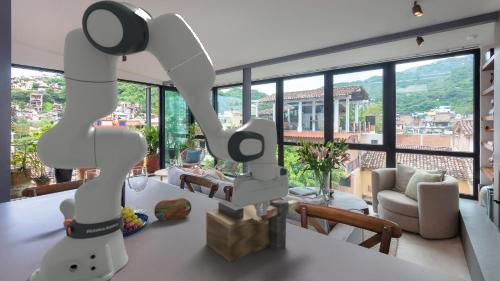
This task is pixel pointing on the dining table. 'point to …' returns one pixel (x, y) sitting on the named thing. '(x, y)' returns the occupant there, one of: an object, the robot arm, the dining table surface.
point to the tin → (172, 209)
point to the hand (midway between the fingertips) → (261, 215)
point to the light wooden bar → (274, 209)
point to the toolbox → (248, 234)
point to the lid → (235, 215)
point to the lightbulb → (68, 208)
